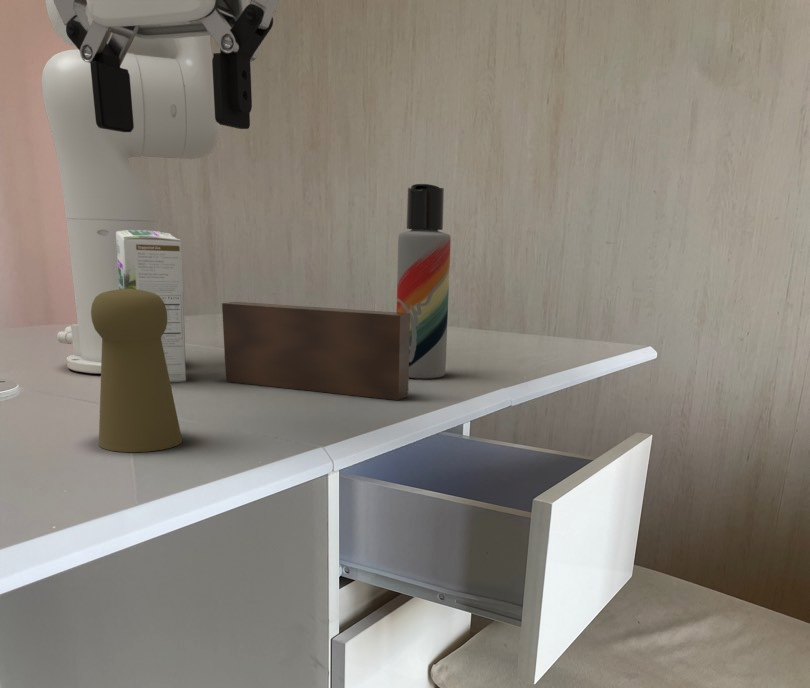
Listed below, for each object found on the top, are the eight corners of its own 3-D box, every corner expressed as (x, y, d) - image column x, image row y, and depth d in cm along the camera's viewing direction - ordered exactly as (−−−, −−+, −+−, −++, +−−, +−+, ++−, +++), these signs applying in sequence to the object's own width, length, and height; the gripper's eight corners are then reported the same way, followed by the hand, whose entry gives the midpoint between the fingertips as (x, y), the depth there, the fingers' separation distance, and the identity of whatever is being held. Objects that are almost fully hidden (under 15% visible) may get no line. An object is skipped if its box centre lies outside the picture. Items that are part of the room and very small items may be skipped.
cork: (159, 454, 59) (146, 294, 56) (82, 448, 60) (64, 291, 57) (195, 435, 65) (186, 288, 61) (124, 430, 66) (110, 285, 62)
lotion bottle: (387, 376, 93) (391, 182, 86) (405, 369, 98) (410, 186, 91) (435, 380, 91) (443, 183, 85) (451, 373, 96) (459, 186, 90)
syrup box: (122, 371, 90) (111, 229, 84) (178, 369, 92) (171, 230, 86) (131, 385, 85) (120, 236, 79) (189, 382, 88) (183, 237, 82)
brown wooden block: (225, 381, 88) (221, 303, 85) (238, 378, 90) (235, 301, 87) (398, 400, 81) (400, 315, 78) (408, 396, 83) (410, 313, 80)
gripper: (306, -176, 51) (311, 132, 57) (84, -138, 57) (109, 137, 63) (238, -238, 45) (252, 117, 51) (-4, -187, 51) (33, 124, 57)
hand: (172, 128), depth 57 cm, fingers open, 9 cm apart
